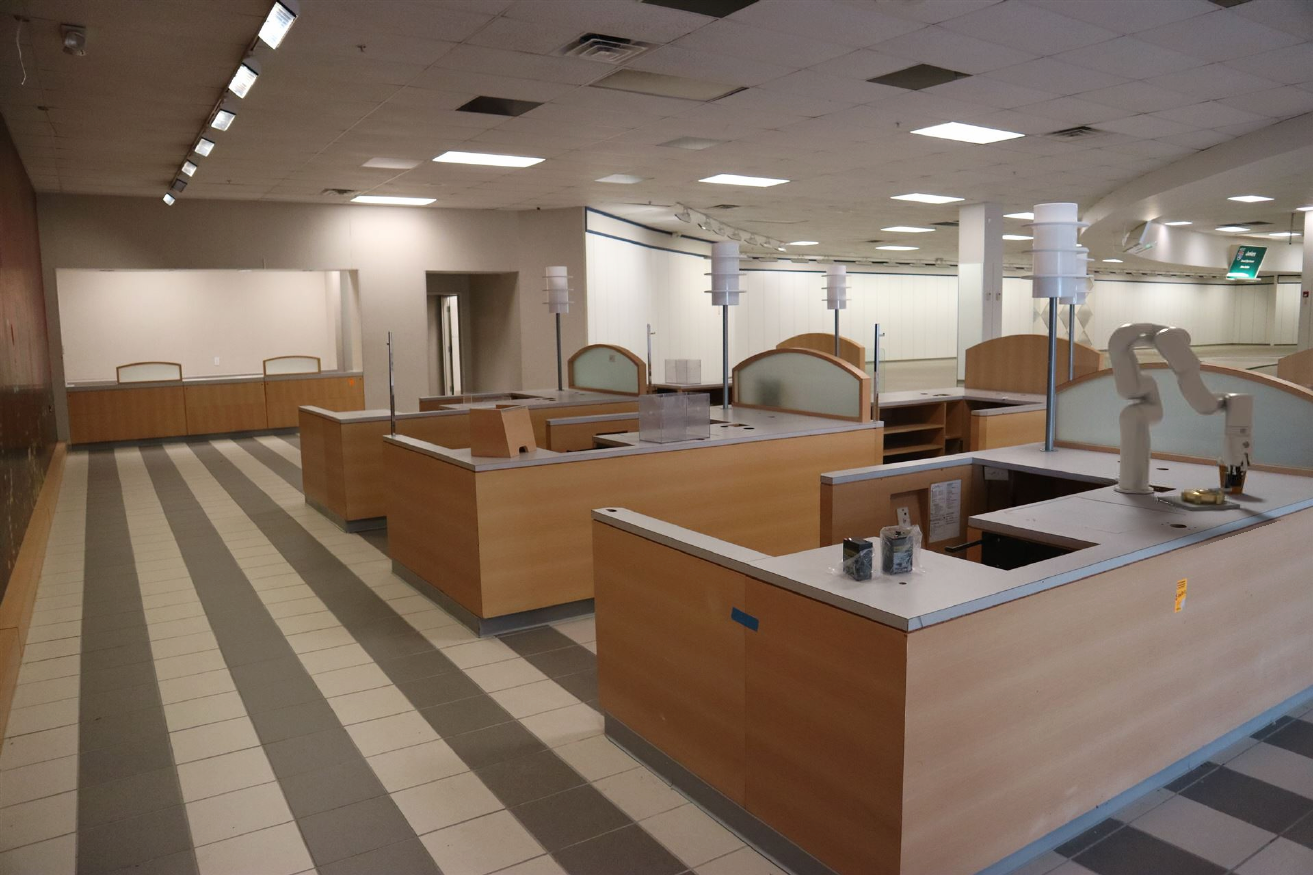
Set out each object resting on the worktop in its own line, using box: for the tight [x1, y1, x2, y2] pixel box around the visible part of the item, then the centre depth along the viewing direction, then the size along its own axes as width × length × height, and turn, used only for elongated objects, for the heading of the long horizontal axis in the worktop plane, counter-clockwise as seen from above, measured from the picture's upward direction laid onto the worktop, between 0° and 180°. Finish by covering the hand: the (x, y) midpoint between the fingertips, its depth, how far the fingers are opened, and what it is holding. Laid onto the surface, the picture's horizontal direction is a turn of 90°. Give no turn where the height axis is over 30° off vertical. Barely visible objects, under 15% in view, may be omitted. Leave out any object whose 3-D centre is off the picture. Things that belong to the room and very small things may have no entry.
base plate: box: [1156, 495, 1241, 512], centre depth 298 cm, size 17×17×1 cm
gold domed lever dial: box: [1180, 472, 1232, 504], centre depth 297 cm, size 17×12×9 cm
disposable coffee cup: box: [1217, 456, 1249, 495], centre depth 314 cm, size 10×10×12 cm
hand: (1234, 485), depth 295 cm, fingers closed
